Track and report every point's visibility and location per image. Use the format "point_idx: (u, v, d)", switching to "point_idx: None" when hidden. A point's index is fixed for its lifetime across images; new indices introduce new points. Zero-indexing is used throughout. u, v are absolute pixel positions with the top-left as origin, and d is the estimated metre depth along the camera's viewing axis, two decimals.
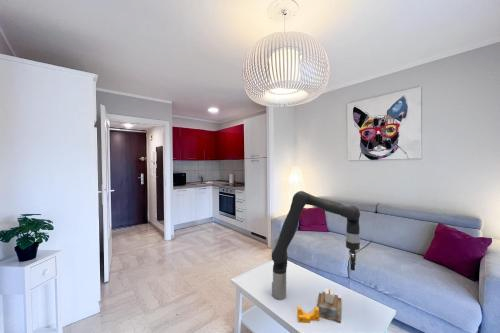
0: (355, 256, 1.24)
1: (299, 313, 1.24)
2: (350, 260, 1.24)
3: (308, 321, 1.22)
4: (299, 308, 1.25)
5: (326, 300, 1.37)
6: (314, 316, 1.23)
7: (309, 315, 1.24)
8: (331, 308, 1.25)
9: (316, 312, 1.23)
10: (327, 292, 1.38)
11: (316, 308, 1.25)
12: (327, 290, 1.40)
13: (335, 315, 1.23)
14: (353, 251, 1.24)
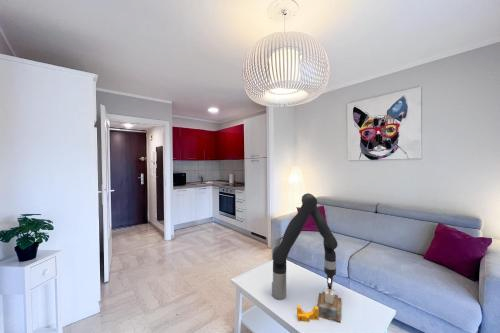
0: (332, 281, 1.41)
1: (298, 312, 1.25)
2: None
3: (307, 320, 1.23)
4: (298, 307, 1.26)
5: (326, 300, 1.37)
6: (313, 315, 1.24)
7: (308, 314, 1.25)
8: (331, 308, 1.25)
9: (315, 311, 1.24)
10: (327, 292, 1.38)
11: (315, 307, 1.25)
12: (327, 290, 1.40)
13: (335, 315, 1.23)
14: (330, 277, 1.40)
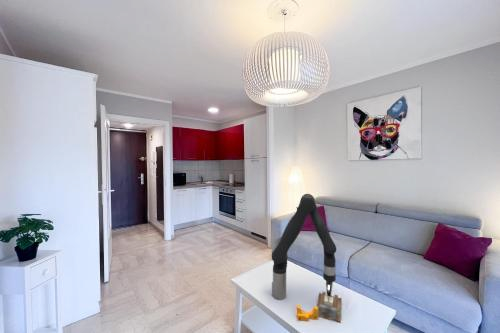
0: (331, 288, 1.34)
1: (298, 312, 1.25)
2: None
3: (307, 320, 1.23)
4: (298, 307, 1.26)
5: None
6: (313, 315, 1.24)
7: (308, 314, 1.25)
8: (331, 308, 1.25)
9: (315, 311, 1.24)
10: (326, 299, 1.30)
11: (315, 307, 1.26)
12: (326, 297, 1.32)
13: (335, 315, 1.23)
14: (329, 283, 1.33)
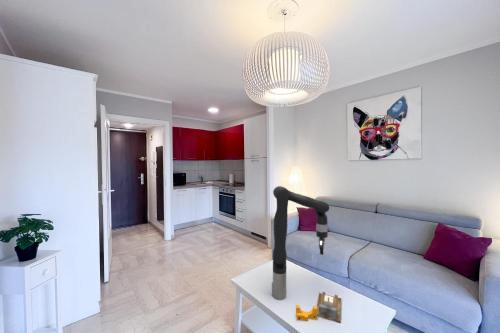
0: (323, 244, 1.47)
1: (297, 311, 1.25)
2: None
3: (306, 319, 1.23)
4: (297, 306, 1.26)
5: None
6: (312, 315, 1.25)
7: (307, 313, 1.26)
8: (331, 308, 1.25)
9: (314, 311, 1.24)
10: (326, 299, 1.30)
11: (314, 307, 1.26)
12: (326, 297, 1.32)
13: (335, 315, 1.23)
14: (321, 239, 1.46)
